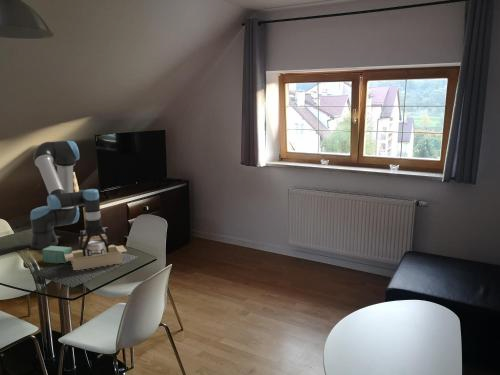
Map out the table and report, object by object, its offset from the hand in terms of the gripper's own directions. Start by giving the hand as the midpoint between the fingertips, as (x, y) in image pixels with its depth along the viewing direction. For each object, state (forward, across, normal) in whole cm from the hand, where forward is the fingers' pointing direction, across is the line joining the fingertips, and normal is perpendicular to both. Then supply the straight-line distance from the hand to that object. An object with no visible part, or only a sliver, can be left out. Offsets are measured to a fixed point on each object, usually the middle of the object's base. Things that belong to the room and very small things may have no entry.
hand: (96, 259), depth 221 cm
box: (+2, -18, +15) cm, 23 cm away
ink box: (+2, 0, 0) cm, 2 cm away
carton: (+2, 0, 0) cm, 2 cm away
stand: (+2, +1, +16) cm, 16 cm away
